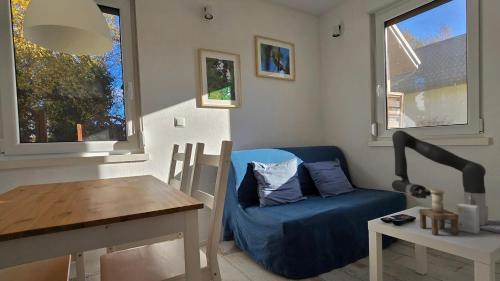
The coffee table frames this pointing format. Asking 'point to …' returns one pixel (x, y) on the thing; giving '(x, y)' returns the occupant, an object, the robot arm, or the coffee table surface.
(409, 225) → the coffee table surface
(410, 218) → the coffee table surface
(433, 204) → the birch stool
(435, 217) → the walnut footstool
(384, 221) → the coffee table surface
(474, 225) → the small box
